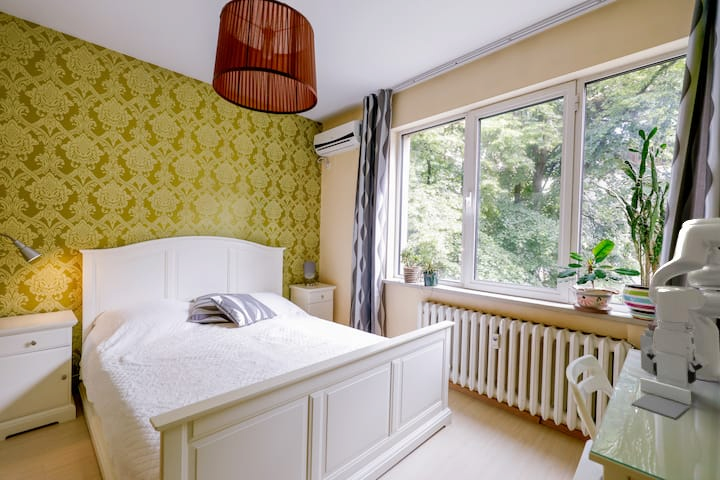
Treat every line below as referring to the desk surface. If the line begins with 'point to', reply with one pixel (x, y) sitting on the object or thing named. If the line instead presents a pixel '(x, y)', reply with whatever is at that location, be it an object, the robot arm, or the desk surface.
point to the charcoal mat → (661, 406)
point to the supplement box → (672, 370)
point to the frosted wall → (666, 390)
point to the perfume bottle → (646, 341)
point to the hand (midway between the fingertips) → (674, 378)
